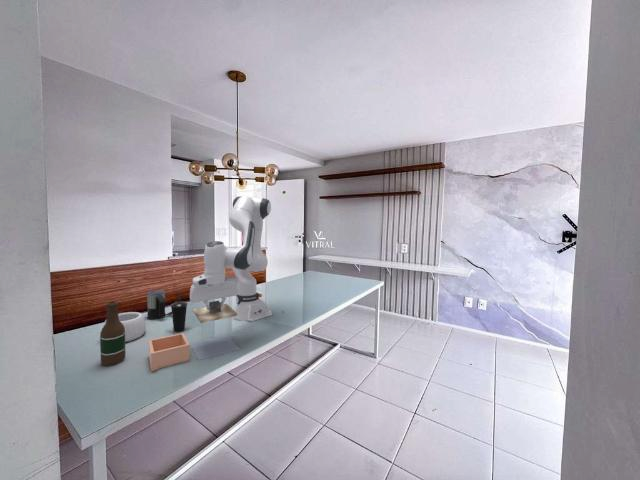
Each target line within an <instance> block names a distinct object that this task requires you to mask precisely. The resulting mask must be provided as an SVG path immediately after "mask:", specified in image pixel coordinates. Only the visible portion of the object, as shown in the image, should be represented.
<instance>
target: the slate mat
mask: <svg viewBox="0 0 640 480" xmlns="http://www.w3.org/2000/svg"><path fill="white" fill-rule="evenodd" d="M189 345H190V346H191V348H192V350H193V352H194V354H195V356H196V359H197V360H198V361H200V360H204V359H208V358H211V357H212V358H213V357H214V356H218V355H221V354H225V353H229V352H233V351H236V350H240V347H239V346H238V345H237V344H236V343H235V341H233V339H232V338H231V337H230V336H229V335H228V334H224V335H223V334H222V335H220V336H216V337H211V338H208V339H203V340H200V341H199V340H198V341H194V342H189Z"/></svg>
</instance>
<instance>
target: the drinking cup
mask: <svg viewBox="0 0 640 480" xmlns="http://www.w3.org/2000/svg"><path fill="white" fill-rule="evenodd" d="M177 295H178V296H177V297H178V298H177V300H178V301H175V302H173V303H171V304H170V308H171V312H172V315H171V318H172V325H173V328H172V329H173V331H175V333H180V331H181V332H183V331H185V328H186V327H185V326H186V319H187V307H188V302H186V301H181V292H180V291H178V293H177Z"/></svg>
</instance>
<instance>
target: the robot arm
mask: <svg viewBox="0 0 640 480" xmlns="http://www.w3.org/2000/svg"><path fill="white" fill-rule="evenodd" d="M232 201H233V202H232V209H231V211H230V214H229V217H228V219H229V220H228V221H229V224H230V225H231V226H232V228H233V229H235V230H236V231H239V232H241V233H242V236H241V242H242V246H241V247H228V246H226V245H225V243H224V242H223V241H220V240H219V241H218V240H216V241H215V240H214V241H210V242H207V243H206V244H205V247H204V253H203V264H204V271H203V274H201V275H197V276H195V277H193V278H192V284H191V286H190V289H189V290H190V291H189V300H190V302H191V303H198V302H203V303H204V304H205V307H206V309H207V310H209V309H211V305H209V301H210V300H212V301H213V300H217V299H221V301H220V303H221V307H223V304H225V302H226V300H227V298H228V297H229V298H230V297H235V303H236V307H235V312H237V316H233V318H234V319H235V320H237V321H247V322H255V321H259V320H260V319H264V318H268V317H272V316H273V312H272V311H271V310H270V309H269V306H268V305H269V304H267V303H266V302H265V301H264V300H263V299H262V297H263V294H262V293H259V292H257V279H256V278H255V277H254V276H253V275H252V274H251V272H256V273H257V272H263V271H265V270H266V269H267V267H268V263H269V262H268V261H269V260H268V258H267V256H266V255H265V253H264V252H263V250H262V246H261V244H262V243H261V241H262V234H263V227H264V219H265V218H266V217H268V216H269V215H270V213H271V211H272V210H271V209H272V204H271V201H270V200H269V199H268V198H264V197H263V198H262V197H258V196H248V195H241V196H236V197H235V198H234V199H233V200H232ZM226 268H227V269H231V270H232V271H233V273H234V275H231V276H226Z"/></svg>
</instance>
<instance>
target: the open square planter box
mask: <svg viewBox="0 0 640 480" xmlns="http://www.w3.org/2000/svg"><path fill="white" fill-rule="evenodd" d="M148 359H149V367H150V371H151V373H152V372H155V371H158V370H159V369H161V368H165V367H166V368H167V367H169V366H172V365H173V366H174V365H176V364H181V363H185V362H188V361H190V342H189V340H188V339H187V337H186V335H185V332H182V333H177V334H172V335H168V336H163V337H158V338H154V339H148Z"/></svg>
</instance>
